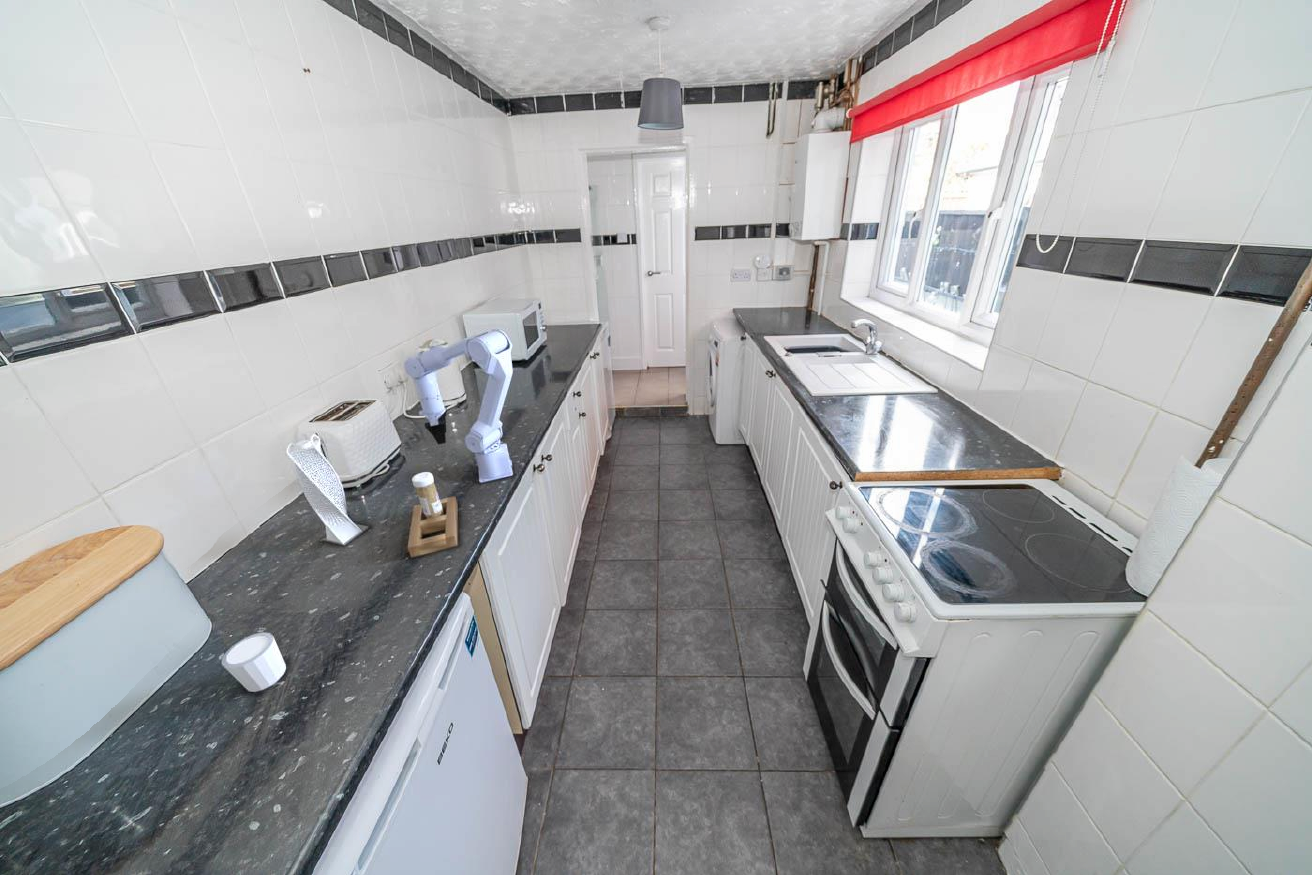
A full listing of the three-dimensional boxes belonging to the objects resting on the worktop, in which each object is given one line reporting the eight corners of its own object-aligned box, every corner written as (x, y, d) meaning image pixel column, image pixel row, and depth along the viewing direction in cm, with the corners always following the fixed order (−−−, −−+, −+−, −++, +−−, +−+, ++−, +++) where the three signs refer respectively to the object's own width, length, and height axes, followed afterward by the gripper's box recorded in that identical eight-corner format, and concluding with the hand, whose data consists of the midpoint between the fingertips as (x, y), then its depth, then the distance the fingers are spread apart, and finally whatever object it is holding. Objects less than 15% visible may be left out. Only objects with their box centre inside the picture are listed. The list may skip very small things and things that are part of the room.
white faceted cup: (259, 660, 81) (241, 633, 78) (299, 656, 81) (282, 629, 78) (230, 697, 75) (209, 669, 72) (273, 693, 75) (254, 665, 72)
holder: (457, 505, 122) (454, 496, 121) (457, 545, 107) (454, 535, 106) (417, 514, 119) (414, 505, 118) (411, 557, 104) (407, 547, 103)
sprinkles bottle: (447, 521, 116) (433, 476, 110) (428, 528, 114) (412, 483, 107) (444, 513, 119) (430, 469, 113) (425, 519, 117) (410, 475, 111)
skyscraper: (373, 528, 115) (331, 429, 102) (344, 549, 108) (295, 446, 95) (348, 523, 117) (305, 425, 104) (319, 543, 110) (268, 441, 98)
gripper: (416, 390, 135) (429, 431, 141) (412, 407, 122) (426, 451, 129) (442, 386, 137) (453, 426, 143) (440, 402, 125) (452, 446, 131)
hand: (442, 438), depth 136 cm, fingers open, 7 cm apart
